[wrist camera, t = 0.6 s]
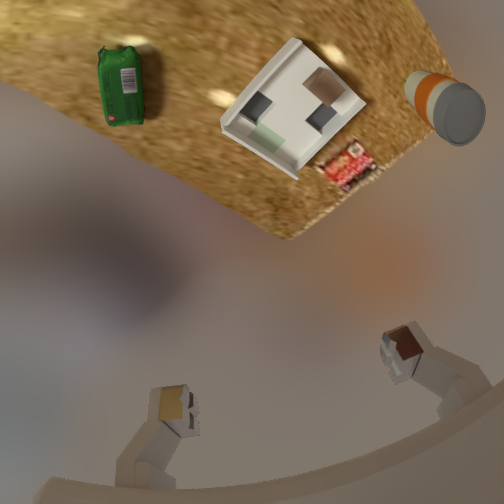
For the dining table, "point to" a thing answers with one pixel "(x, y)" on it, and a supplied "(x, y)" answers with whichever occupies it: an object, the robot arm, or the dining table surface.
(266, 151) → the box
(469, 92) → the reusable coffee cup
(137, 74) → the snack package
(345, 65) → the dining table surface
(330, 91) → the walnut cube
